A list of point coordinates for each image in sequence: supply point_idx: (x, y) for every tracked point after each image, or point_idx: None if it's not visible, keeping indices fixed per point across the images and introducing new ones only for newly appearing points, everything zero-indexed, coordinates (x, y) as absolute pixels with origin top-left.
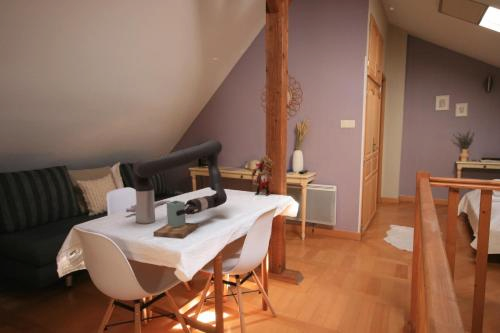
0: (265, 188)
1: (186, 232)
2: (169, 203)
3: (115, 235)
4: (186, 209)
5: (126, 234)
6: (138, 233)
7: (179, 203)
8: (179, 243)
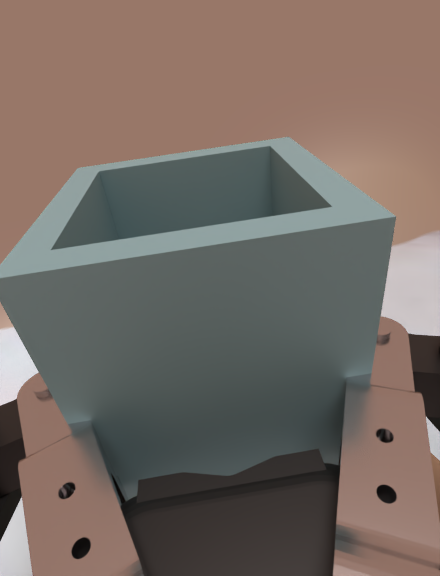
0: None
1: None
2: (217, 148)
3: (434, 241)
4: (30, 452)
5: (423, 267)
6: (406, 303)
7: (53, 204)
8: (19, 376)
